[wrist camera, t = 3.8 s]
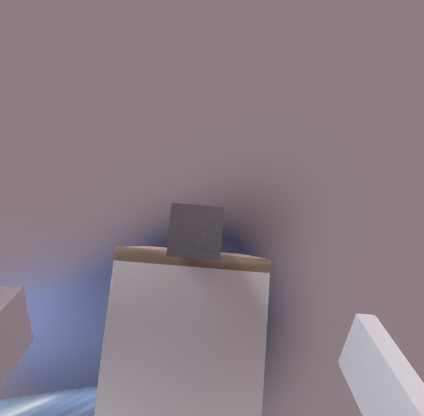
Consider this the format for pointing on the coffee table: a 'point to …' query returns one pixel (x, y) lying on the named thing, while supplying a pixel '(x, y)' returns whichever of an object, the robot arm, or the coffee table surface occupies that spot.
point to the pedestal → (184, 335)
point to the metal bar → (195, 231)
